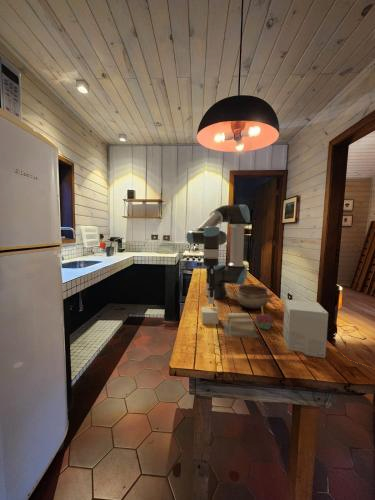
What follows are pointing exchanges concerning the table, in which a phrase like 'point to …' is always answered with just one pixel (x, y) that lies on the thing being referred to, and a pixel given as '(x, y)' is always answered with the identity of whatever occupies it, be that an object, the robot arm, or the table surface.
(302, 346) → the supplement box
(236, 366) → the table surface
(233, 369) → the table surface
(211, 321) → the cream block
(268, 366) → the table surface
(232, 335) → the slate board
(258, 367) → the table surface
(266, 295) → the cooking pot
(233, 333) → the maple base block
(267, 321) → the cupcake
